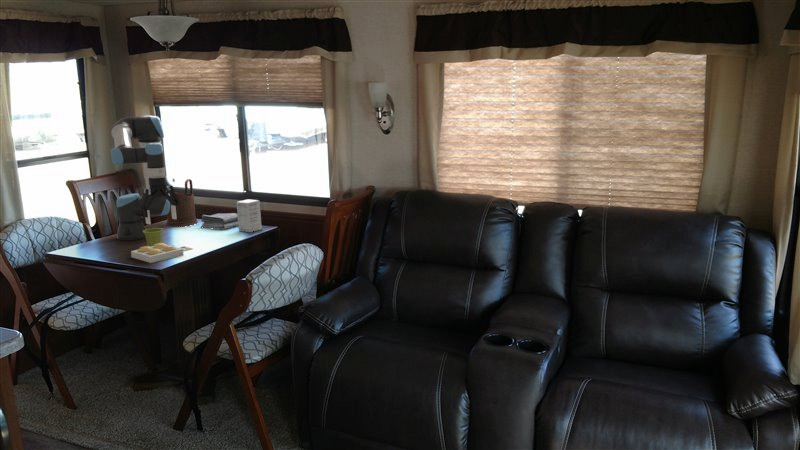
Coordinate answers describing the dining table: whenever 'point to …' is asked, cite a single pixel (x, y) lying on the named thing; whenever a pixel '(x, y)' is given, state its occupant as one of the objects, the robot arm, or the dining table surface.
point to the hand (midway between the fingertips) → (161, 221)
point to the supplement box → (249, 215)
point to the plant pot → (153, 236)
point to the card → (185, 248)
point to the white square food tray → (156, 255)
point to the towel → (220, 221)
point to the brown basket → (183, 209)
